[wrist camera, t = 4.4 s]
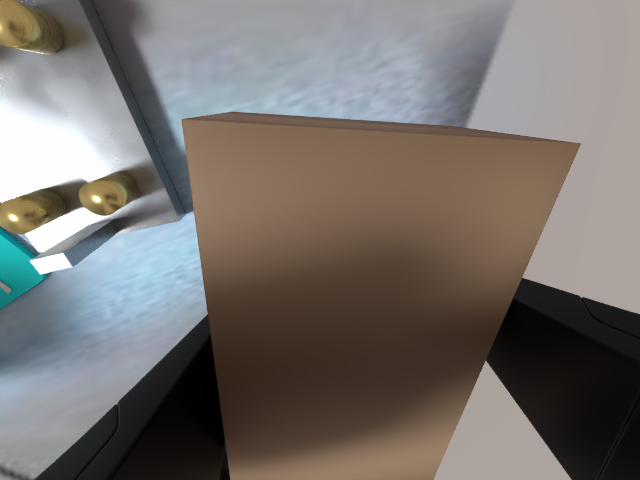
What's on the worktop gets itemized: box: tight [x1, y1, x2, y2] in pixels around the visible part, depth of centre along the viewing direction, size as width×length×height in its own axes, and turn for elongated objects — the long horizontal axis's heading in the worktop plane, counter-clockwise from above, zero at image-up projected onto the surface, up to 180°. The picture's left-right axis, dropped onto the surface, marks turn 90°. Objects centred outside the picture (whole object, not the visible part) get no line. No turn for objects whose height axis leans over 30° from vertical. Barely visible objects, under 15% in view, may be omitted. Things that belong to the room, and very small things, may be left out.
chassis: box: [0, 0, 186, 274], centre depth 13 cm, size 13×9×6 cm
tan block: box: [182, 112, 580, 480], centre depth 8 cm, size 10×6×4 cm, turn 176°
